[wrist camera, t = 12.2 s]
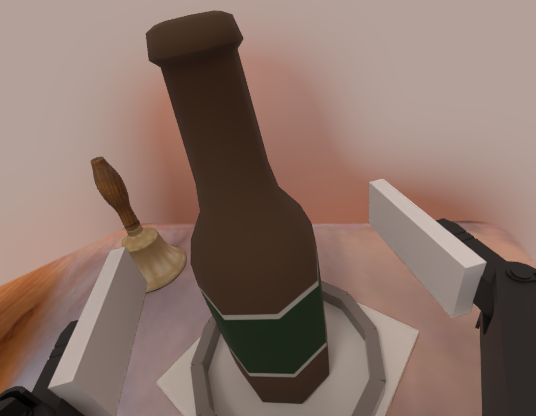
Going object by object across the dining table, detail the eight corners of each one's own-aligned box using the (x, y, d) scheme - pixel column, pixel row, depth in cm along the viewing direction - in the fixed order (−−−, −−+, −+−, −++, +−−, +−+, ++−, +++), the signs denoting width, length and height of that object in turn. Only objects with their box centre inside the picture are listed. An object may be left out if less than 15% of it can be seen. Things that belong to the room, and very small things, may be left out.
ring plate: (159, 386, 24) (148, 373, 23) (273, 267, 34) (269, 253, 32) (319, 579, 14) (315, 574, 13) (418, 336, 24) (421, 319, 22)
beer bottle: (345, 334, 24) (322, -12, 11) (312, 433, 19) (197, -3, 6) (268, 306, 28) (184, 26, 15) (222, 383, 23) (34, 51, 10)
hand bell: (164, 241, 42) (113, 141, 34) (198, 258, 38) (149, 147, 29) (113, 278, 37) (38, 172, 29) (145, 304, 33) (66, 186, 24)
